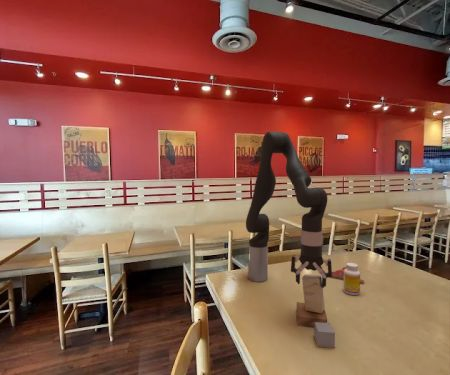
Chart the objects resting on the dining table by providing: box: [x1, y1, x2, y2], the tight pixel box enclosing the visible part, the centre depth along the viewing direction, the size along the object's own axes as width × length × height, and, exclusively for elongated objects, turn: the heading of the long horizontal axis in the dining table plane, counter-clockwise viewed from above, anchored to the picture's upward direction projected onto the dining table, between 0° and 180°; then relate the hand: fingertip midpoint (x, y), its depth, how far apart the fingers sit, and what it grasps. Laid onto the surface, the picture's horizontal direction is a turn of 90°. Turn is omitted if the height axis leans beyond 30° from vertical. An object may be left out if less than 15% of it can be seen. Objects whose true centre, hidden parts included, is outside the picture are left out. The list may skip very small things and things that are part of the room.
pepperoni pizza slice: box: [328, 266, 365, 285], centre depth 137 cm, size 18×2×20 cm
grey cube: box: [314, 322, 336, 348], centre depth 83 cm, size 5×5×5 cm
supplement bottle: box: [343, 262, 361, 296], centre depth 115 cm, size 7×7×13 cm
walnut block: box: [296, 301, 328, 329], centre depth 95 cm, size 10×10×4 cm
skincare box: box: [301, 273, 326, 313], centre depth 95 cm, size 6×4×12 cm
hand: (310, 285), depth 95 cm, fingers open, 8 cm apart
